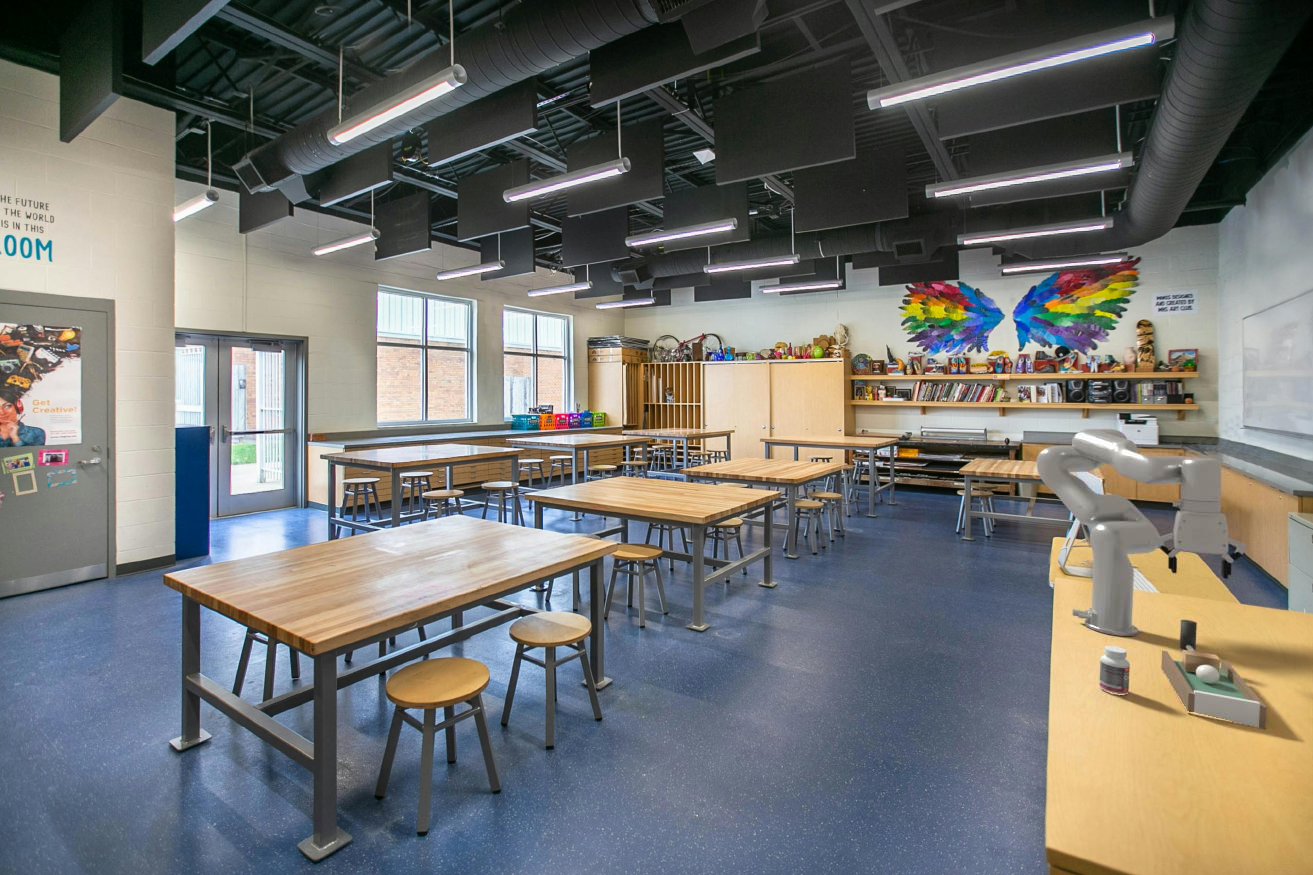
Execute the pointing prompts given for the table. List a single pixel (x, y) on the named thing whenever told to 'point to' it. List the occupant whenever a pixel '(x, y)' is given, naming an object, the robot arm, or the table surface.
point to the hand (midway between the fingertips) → (1198, 574)
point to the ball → (1207, 674)
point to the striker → (1194, 649)
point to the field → (1216, 694)
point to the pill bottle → (1114, 670)
